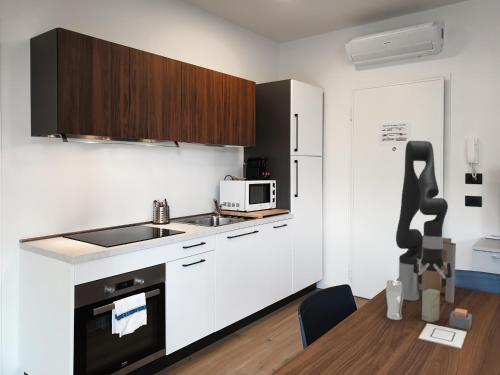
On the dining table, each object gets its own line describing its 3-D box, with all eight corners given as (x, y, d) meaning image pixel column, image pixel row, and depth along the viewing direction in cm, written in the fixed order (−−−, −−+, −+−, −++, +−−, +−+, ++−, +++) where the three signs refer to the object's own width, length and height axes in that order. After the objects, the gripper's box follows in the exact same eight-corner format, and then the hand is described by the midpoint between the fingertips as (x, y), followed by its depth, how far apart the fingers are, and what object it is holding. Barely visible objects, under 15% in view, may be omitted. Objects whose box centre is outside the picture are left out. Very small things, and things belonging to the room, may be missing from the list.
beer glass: (384, 318, 167) (385, 283, 166) (386, 313, 173) (387, 279, 172) (401, 321, 163) (402, 285, 162) (404, 315, 169) (404, 281, 169)
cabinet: (419, 290, 204) (420, 235, 202) (434, 288, 207) (436, 234, 205) (451, 303, 184) (453, 243, 182) (467, 301, 187) (469, 242, 185)
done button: (454, 317, 159) (454, 311, 159) (455, 314, 163) (455, 308, 163) (465, 319, 157) (466, 313, 157) (467, 316, 160) (467, 310, 160)
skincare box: (431, 323, 162) (432, 293, 161) (421, 319, 165) (421, 290, 165) (439, 319, 166) (440, 290, 165) (429, 316, 169) (430, 288, 168)
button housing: (449, 325, 159) (449, 315, 159) (452, 320, 165) (452, 310, 165) (469, 329, 155) (469, 319, 155) (471, 324, 161) (471, 314, 161)
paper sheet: (418, 338, 147) (418, 337, 147) (427, 324, 161) (427, 323, 161) (461, 348, 140) (461, 347, 139) (466, 332, 153) (466, 331, 153)
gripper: (412, 246, 165) (411, 284, 165) (450, 250, 157) (449, 290, 157) (416, 243, 171) (415, 280, 172) (453, 246, 163) (452, 286, 164)
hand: (431, 285), depth 164 cm, fingers open, 8 cm apart
